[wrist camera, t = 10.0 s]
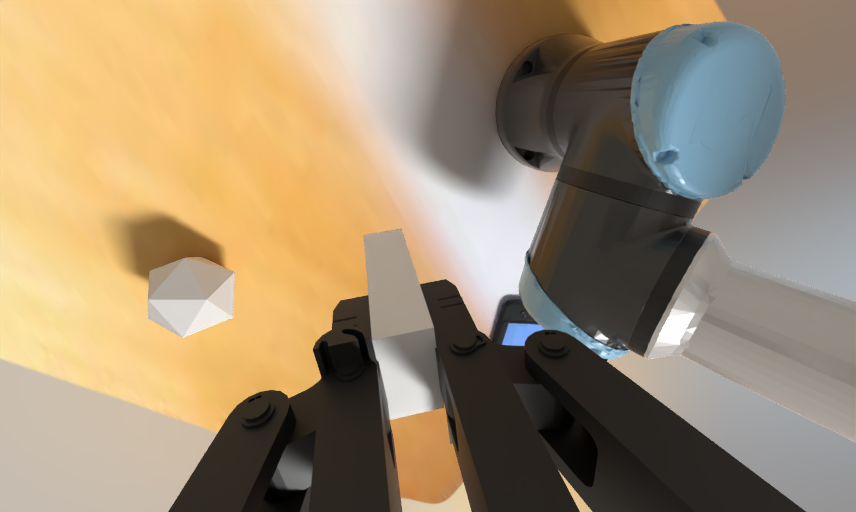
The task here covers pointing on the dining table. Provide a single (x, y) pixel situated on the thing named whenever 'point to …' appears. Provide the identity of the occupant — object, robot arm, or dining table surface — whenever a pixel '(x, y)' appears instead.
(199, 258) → the die
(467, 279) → the dining table surface
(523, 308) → the handheld game console
